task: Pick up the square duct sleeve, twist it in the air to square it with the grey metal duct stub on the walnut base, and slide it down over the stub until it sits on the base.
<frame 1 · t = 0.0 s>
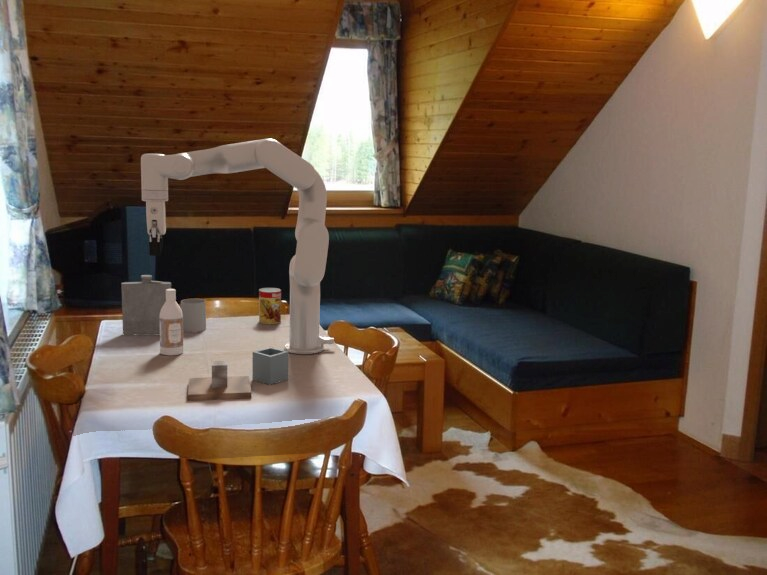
hand: (156, 253, 229), 31 cm above the table, tool pointing down, fingers open, 9 cm apart
canned food: (269, 322, 281), on the table
bath foam: (171, 353, 236), on the table
duct sleeve: (270, 379, 214), on the table
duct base: (219, 390, 203), on the table
cup: (193, 329, 266), on the table
hip flask: (147, 334, 258), on the table
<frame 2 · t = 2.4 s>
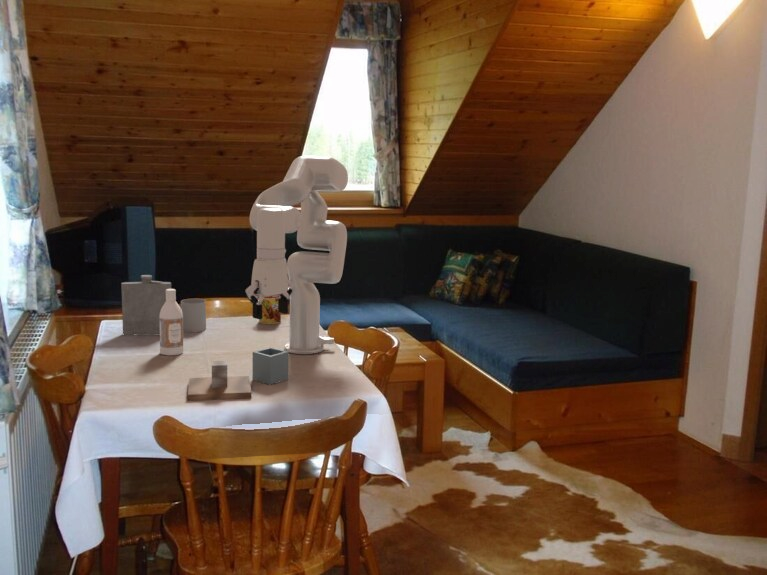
hand: (270, 315, 210), 18 cm above the table, tool pointing down, fingers open, 9 cm apart
nothing on the table moved.
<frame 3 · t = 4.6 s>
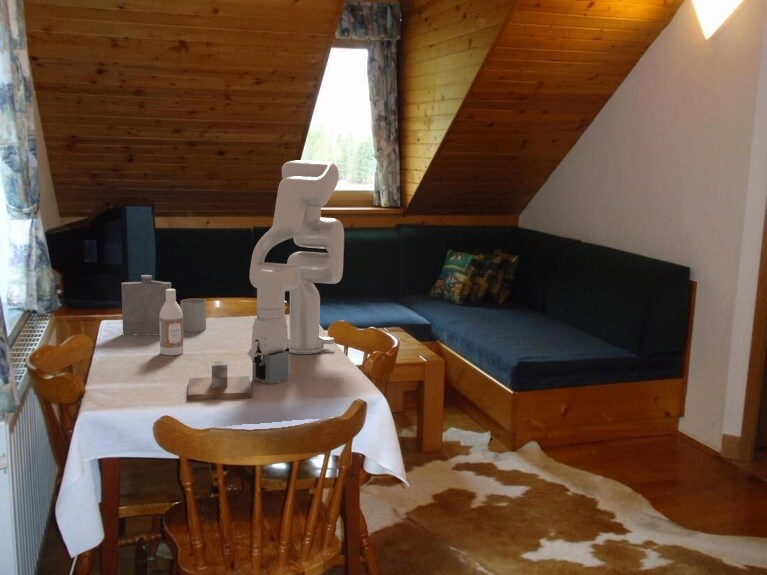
hand: (270, 374, 213), 1 cm above the table, tool pointing down, fingers closed on duct sleeve, 7 cm apart
duct sleeve: (270, 379, 214), on the table, touching gripper
everything else where it was.
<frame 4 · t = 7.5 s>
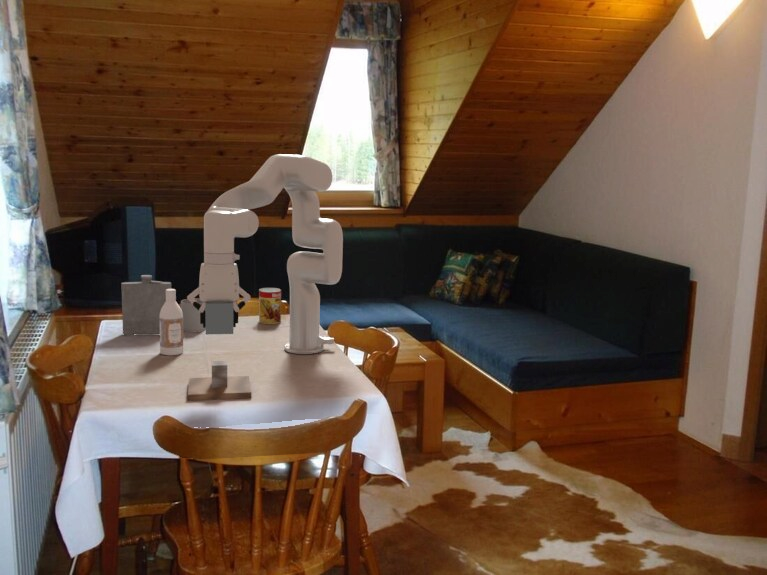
hand: (219, 325, 200), 18 cm above the table, tool pointing down, fingers closed on duct sleeve, 7 cm apart
duct sleeve: (219, 330, 200), point 16 cm above the table, touching gripper
everything else where it was.
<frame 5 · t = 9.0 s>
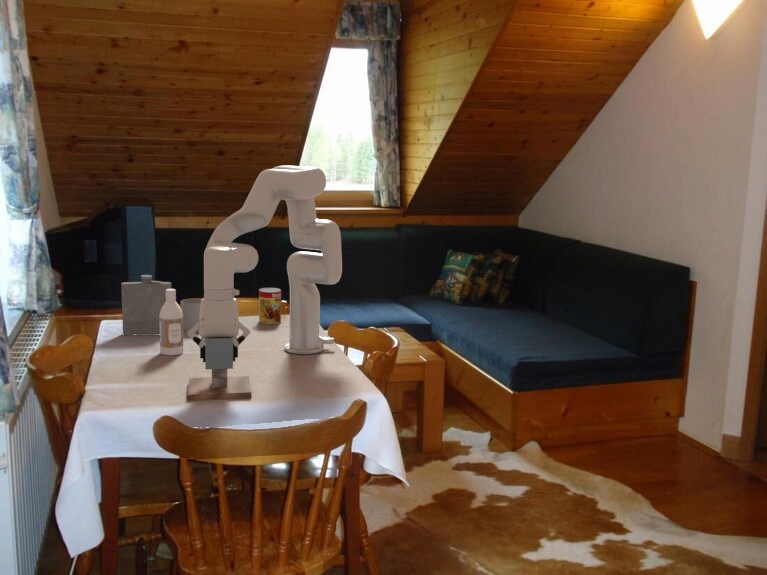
hand: (219, 360, 201), 8 cm above the table, tool pointing down, fingers closed on duct sleeve, 7 cm apart
duct sleeve: (219, 365, 201), point 7 cm above the table, touching gripper
everything else where it was.
when the fingers open (4 cm above the table, at t = 10.4 s): duct sleeve drops 1 cm, resting on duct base.
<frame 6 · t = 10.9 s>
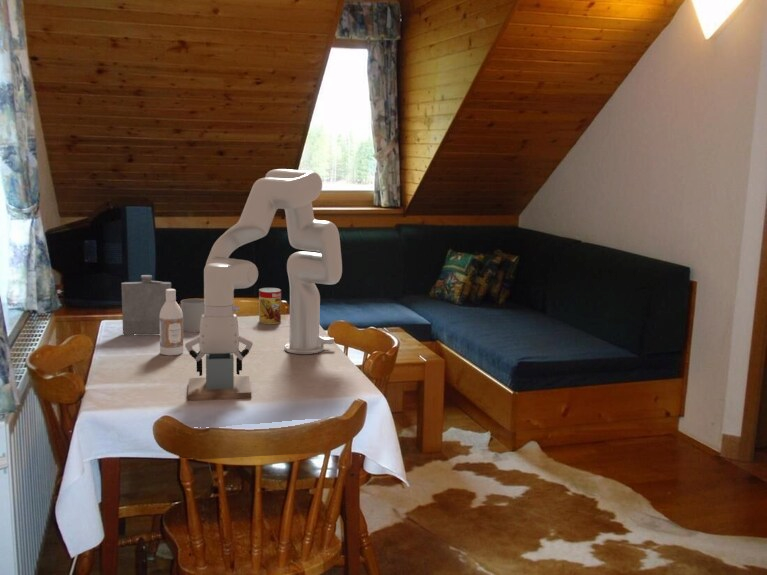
hand: (219, 373, 202), 5 cm above the table, tool pointing down, fingers open, 9 cm apart
duct sleeve: (219, 384, 203), point 1 cm above the table, touching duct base
everything else where it was.
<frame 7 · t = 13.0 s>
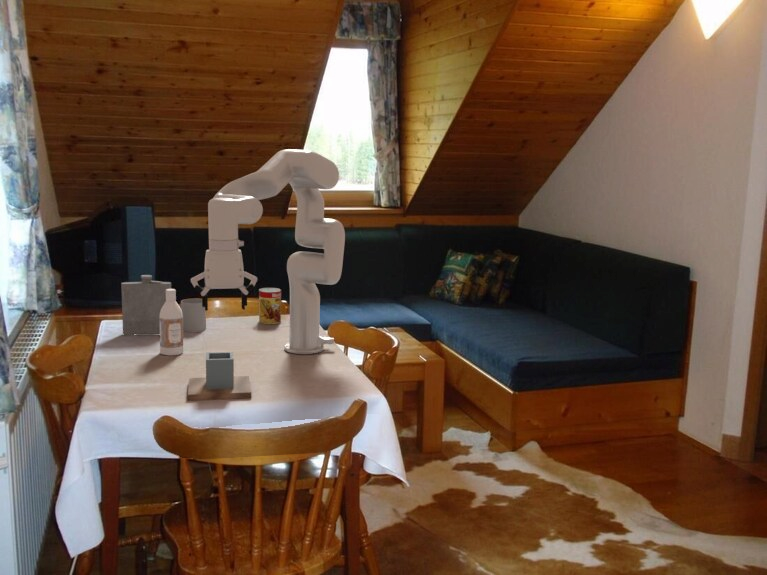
hand: (224, 308, 204), 21 cm above the table, tool pointing down, fingers open, 9 cm apart
nothing on the table moved.
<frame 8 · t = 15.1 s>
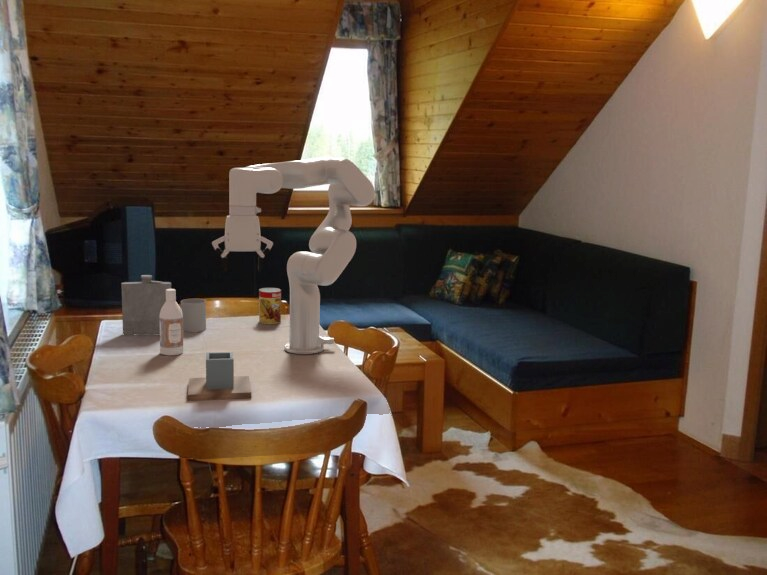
hand: (242, 270, 221), 28 cm above the table, tool pointing down, fingers open, 9 cm apart
nothing on the table moved.
at the end: duct sleeve 0.1 cm from the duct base (horizontally); duct sleeve point 1.5 cm above the table; duct sleeve tilted 0° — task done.
